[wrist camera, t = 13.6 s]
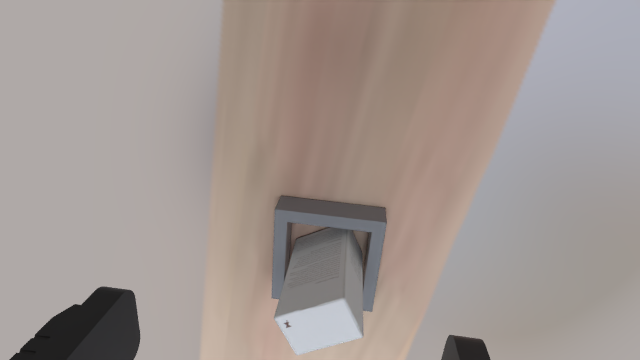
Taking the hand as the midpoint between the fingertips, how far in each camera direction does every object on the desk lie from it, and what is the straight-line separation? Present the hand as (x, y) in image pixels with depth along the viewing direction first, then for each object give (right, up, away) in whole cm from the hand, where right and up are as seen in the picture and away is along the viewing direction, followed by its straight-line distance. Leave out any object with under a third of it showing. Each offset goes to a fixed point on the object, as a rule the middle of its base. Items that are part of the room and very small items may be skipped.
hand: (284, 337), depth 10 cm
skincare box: (+2, -3, +32) cm, 32 cm away
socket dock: (+2, -3, +32) cm, 32 cm away
